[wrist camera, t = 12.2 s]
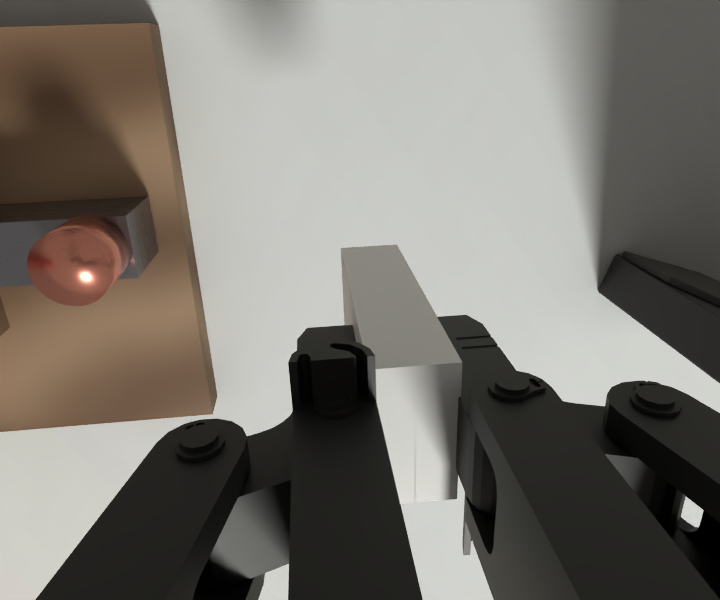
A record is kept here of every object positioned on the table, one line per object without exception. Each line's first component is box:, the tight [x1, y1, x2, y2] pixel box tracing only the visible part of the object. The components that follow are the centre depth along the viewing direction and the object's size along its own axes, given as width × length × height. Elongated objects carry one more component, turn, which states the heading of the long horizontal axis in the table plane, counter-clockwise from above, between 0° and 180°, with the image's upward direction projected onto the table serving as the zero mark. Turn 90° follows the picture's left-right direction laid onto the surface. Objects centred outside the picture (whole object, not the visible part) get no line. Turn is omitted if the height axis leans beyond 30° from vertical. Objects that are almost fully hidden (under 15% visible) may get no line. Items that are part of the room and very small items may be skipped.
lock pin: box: [0, 196, 159, 306], centre depth 19 cm, size 2×9×5 cm, turn 92°
